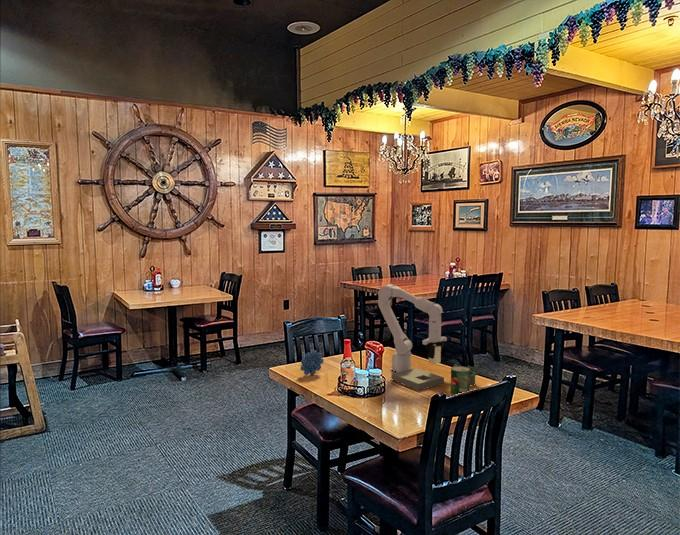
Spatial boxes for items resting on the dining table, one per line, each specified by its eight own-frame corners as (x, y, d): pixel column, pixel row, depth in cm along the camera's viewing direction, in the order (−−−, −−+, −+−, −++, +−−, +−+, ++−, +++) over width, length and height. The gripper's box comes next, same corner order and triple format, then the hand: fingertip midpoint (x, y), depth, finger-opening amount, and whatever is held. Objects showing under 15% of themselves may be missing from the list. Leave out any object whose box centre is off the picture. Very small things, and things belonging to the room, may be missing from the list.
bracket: (479, 384, 227) (480, 365, 227) (464, 387, 223) (465, 368, 222) (465, 379, 235) (465, 360, 235) (450, 382, 231) (451, 363, 230)
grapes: (320, 371, 248) (320, 347, 247) (325, 375, 241) (325, 350, 240) (298, 373, 244) (298, 349, 243) (301, 377, 237) (301, 352, 236)
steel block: (428, 361, 241) (428, 345, 240) (434, 360, 243) (434, 344, 243) (434, 363, 238) (435, 347, 237) (440, 362, 240) (440, 346, 239)
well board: (391, 379, 234) (391, 373, 233) (416, 374, 243) (416, 368, 243) (418, 390, 219) (418, 383, 219) (443, 383, 228) (444, 377, 228)
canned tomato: (446, 392, 216) (447, 367, 215) (458, 389, 221) (458, 364, 220) (461, 397, 210) (461, 372, 209) (473, 394, 214) (473, 368, 214)
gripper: (430, 332, 232) (429, 361, 233) (451, 329, 240) (451, 356, 241) (419, 330, 238) (419, 358, 239) (440, 326, 246) (440, 353, 247)
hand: (434, 357), depth 241 cm, fingers closed on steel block, 4 cm apart
